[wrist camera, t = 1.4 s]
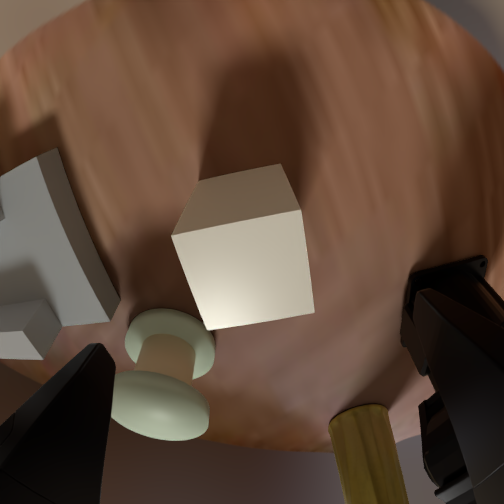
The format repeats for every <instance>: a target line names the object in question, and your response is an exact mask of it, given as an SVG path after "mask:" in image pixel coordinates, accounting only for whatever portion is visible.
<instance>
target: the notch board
mask: <svg viewBox="0 0 504 504" xmlns="http://www.w3.org/2000/svg"><path fill="white" fill-rule="evenodd" d="M120 301H121V300H120V298H119V296H118V294H117V292H116V290H115V289H114V287H113V285H112V283H111V280H110V278H109V276H108V274H107V272H106V270H105V268H104V266H103V264H102V262H101V260H100V257H99V255H98V253H97V251H96V249H95V246H94V244H93V242H92V240H91V237H90V235H89V233H88V230H87V228H86V225H85V223H84V221H83V218H82V216H81V213H80V211H79V208H78V206H77V203H76V200H75V198H74V195H73V192H72V190H71V187H70V184H69V181H68V178H67V176H66V173H65V170H64V167H63V164H62V161H61V158H60V155H59V151H58V148H55V149H52V150H50V151H48V152H45V153H43V154H41V155H39V156H36V157H34V158H33V159H31V160H29V161H27V162H25V163H23V164H21V165H20V166H18V167H16V168H14V169H13V170H11V171H9V172H7V173H6V174H4V175H2V176H1V177H0V358H4V359H35V360H44V358H45V356H46V354H47V352H48V350H49V349H50V347H51V345H52V343H53V342H54V340H55V338H56V336H57V335H58V333H59V331H60V330H61V328H62V326H72V325H82V324H91V323H101V322H109V321H111V319H112V317H113V315H114V313H115V311H116V309H117V307H118V305H119V303H120Z"/></svg>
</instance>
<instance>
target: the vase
mask: <svg viewBox="0 0 504 504" xmlns="http://www.w3.org/2000/svg"><path fill="white" fill-rule="evenodd" d="M328 432H329V434H330V437H331V441H332V445H333V450H334V454H335V458H336V463H337V467H338V471H339V475H340V480H341V485H342V490H343V494H344V499H345V504H409V501H408V497H407V493H406V489H405V484H404V479H403V475H402V471H401V467H400V463H399V459H398V454H397V449H396V444H395V440H394V437H393V433H392V429H391V425H390V421H389V416H388V410H387V409H386V408H385V407H384V406H382V405H378V404H368V405H362V406H358V407H355V408H351V409H349V410H347V411H345V412H343V413H341V414H339V415H338V416H336V417H335V418H334V419H333V420H332V421H331V422H330V424H329V427H328Z"/></svg>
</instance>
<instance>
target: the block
mask: <svg viewBox="0 0 504 504" xmlns="http://www.w3.org/2000/svg"><path fill="white" fill-rule="evenodd" d="M171 237H172V240H173V243H174V246H175V248H176V251H177V254H178V257H179V259H180V262H181V265H182V268H183V270H184V273H185V276H186V278H187V281H188V283H189V286H190V289H191V291H192V294H193V296H194V299H195V301H196V304H197V307H198V309H199V312H200V314H201V317H202V319H203V321H204V324H205V326H206V329H207V330H214V329H221V328H228V327H234V326H241V325H247V324H253V323H259V322H265V321H271V320H277V319H283V318H288V317H294V316H299V315H304V314H309V313H314V303H313V294H312V286H311V278H310V270H309V262H308V255H307V248H306V240H305V233H304V227H303V220H302V213H301V209H300V206H299V204H298V202H297V199H296V197H295V195H294V192H293V190H292V188H291V186H290V183H289V181H288V179H287V176H286V174H285V172H284V170H283V168H282V165H281V164H275V165H270V166H265V167H260V168H255V169H250V170H245V171H240V172H235V173H231V174H226V175H222V176H217V177H213V178H208V179H204V180H200V181H198V183H197V185H196V187H195V188H194V190H193V192H192V194H191V196H190V198H189V200H188V202H187V204H186V206H185V208H184V210H183V212H182V214H181V216H180V218H179V220H178V222H177V224H176V226H175V229H174V231H173V233H172V235H171Z"/></svg>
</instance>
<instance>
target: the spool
mask: <svg viewBox="0 0 504 504" xmlns="http://www.w3.org/2000/svg"><path fill="white" fill-rule="evenodd" d="M125 347H126V350H127V352H128V354H129V356H130V357H131V359H132V360H133V361H134V362H135V363H136V365H135V369H134V370H133V371H125V372H121V373H118V374H116V375H115V380H114V391H113V404H112V413H111V417H112V418H113V419H114V420H116V421H117V422H118V423H120V424H121V425H123V426H124V427H126V428H128V429H130V430H132V431H134V432H136V433H139V434H142V435H145V436H148V437H152V438H156V439H162V440H173V441H176V440H177V441H178V440H187V439H192V438H196V437H198V436H200V435H202V434H203V433H204V432H205V431H206V430H207V428H208V423H209V410H210V408H209V404H208V402H207V400H206V399H205V397H204V396H203V395H202V394H201V393H200V392H199V391H198V390H196V389H195V388H193V387H192V379H195V378H198V377H200V376H202V375H204V374H205V373H207V372H208V371H209V370H210V369H211V367H212V365H213V363H214V356H215V340H214V337H213V335H212V333H211V332H210V330H207V329H206V326H205V325H204V324H203V323H202V322H201V321H199V320H198V319H196V318H195V317H193V316H191V315H189V314H187V313H184V312H181V311H178V310H173V309H166V308H158V309H151V310H147V311H144V312H142V313H140V314H139V315H137V316H136V317H135V318H134V319H133V321H132V322H131V324H130V327H129V329H128V332H127V334H126V337H125Z"/></svg>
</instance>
